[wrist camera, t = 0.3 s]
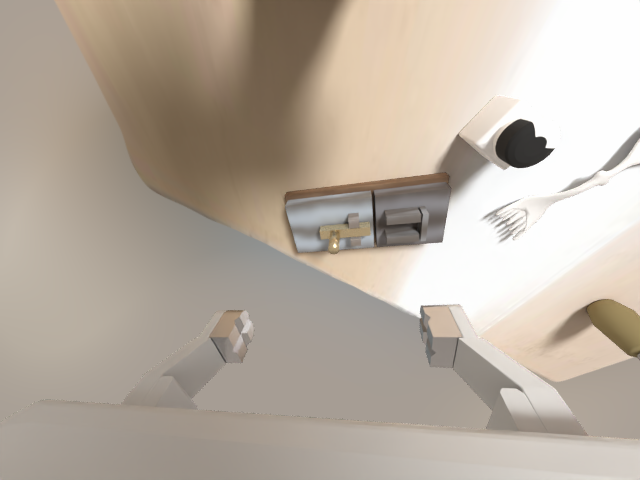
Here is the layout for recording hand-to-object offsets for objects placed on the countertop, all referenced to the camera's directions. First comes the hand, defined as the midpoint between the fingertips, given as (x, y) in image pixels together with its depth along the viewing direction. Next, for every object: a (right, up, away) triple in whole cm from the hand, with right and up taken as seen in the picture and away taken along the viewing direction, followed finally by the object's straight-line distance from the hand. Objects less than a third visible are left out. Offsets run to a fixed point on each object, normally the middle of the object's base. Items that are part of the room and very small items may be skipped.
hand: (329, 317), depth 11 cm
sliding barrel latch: (+9, +10, +40) cm, 42 cm away
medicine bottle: (+28, +23, +29) cm, 46 cm away
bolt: (+5, +6, +37) cm, 37 cm away
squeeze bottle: (+73, -14, +50) cm, 89 cm away
